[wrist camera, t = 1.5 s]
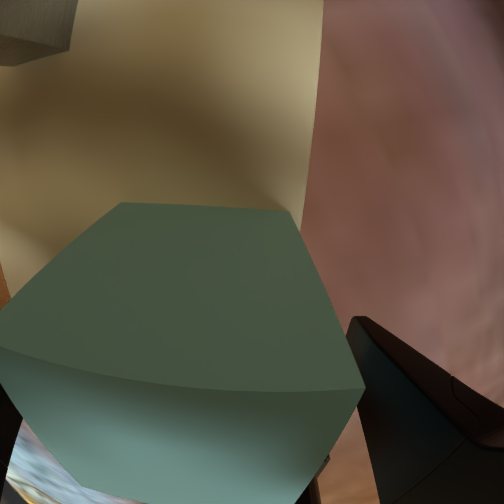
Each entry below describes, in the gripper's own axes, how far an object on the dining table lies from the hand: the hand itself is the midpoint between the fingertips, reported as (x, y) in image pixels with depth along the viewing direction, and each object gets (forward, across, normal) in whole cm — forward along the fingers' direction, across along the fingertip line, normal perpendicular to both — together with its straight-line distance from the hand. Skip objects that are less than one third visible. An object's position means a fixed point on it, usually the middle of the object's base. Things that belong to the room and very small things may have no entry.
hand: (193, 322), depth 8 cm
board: (+3, +3, -5) cm, 7 cm away
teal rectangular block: (+2, 0, 0) cm, 2 cm away
